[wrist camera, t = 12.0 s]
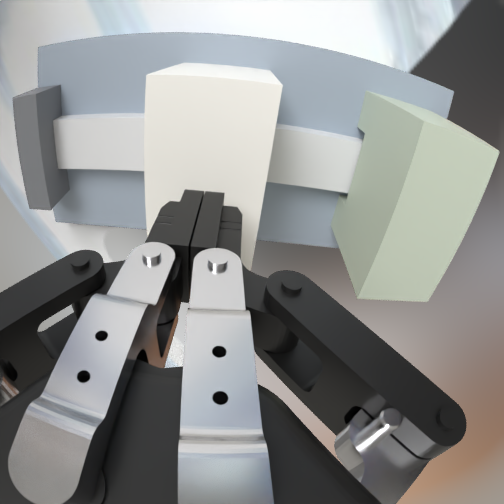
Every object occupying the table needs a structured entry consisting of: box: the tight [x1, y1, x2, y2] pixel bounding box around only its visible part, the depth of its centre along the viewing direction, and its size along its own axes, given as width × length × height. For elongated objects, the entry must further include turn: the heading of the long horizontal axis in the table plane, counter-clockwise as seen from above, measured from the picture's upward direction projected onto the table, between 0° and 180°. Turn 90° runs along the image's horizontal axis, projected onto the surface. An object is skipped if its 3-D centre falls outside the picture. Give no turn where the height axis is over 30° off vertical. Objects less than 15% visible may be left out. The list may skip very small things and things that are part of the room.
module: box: [144, 63, 283, 271], centre depth 16 cm, size 5×10×8 cm, turn 172°
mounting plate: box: [13, 32, 499, 302], centre depth 17 cm, size 28×14×9 cm, turn 83°
